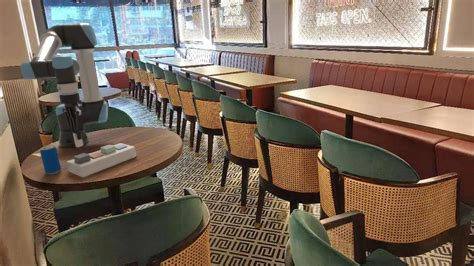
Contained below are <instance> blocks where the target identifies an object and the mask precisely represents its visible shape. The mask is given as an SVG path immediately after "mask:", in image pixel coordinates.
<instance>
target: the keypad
mask: <svg viewBox="0 0 474 266" xmlns="http://www.w3.org/2000/svg"><path fill="white" fill-rule="evenodd" d="M121 144H122V145H126V146H127V148H124V149H121V150H116V151H115V152H113V153H110V154H107V155H106V154H103V153H101V149H99V150H96V151H93V152H90V153H87V154H88V155H92V154H95V153H97V152H98V153H101V154H103V155H104V156H102V157H99V158H96V159H92V158H90V159H91V160H90V161H88V162H85V163H82V164H78V163H76V162H75V160H74V158H72V159H69V160H67V161H66V164H67V169H68V172H69V173H71V174H73V175H76V176H79V177H81V178H85V177H88V176H90V175H93V174H96V173H98V172H100V171H103V170H106V169H108V168H111V167H113V166H116V165H118V164H121V163H123V162H126V161H129V160H131V159H134V158H135V157H137V152H136V151H137V150H136V147H135V146H133V145H129V144H125V143H121V142H120V143H119V142H118V143H117V144H114V145H113V144H112V145H113V146H118V145H121Z"/></svg>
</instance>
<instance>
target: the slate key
mask: <svg viewBox="0 0 474 266" xmlns="http://www.w3.org/2000/svg"><path fill="white" fill-rule="evenodd" d="M122 144H123V143H122ZM122 144H121V145H118V146H115V149H116V150H121V149H124V148H127V146H126V145H127V144H126V145H122Z"/></svg>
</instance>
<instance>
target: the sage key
mask: <svg viewBox="0 0 474 266" xmlns="http://www.w3.org/2000/svg"><path fill="white" fill-rule="evenodd" d="M99 148H100V149H99V150H101V153H103V154H106V155H107V154H110V153H113V152H115V151H116V149H115V146H113V144H107V145H104V146H100V147H99Z"/></svg>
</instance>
